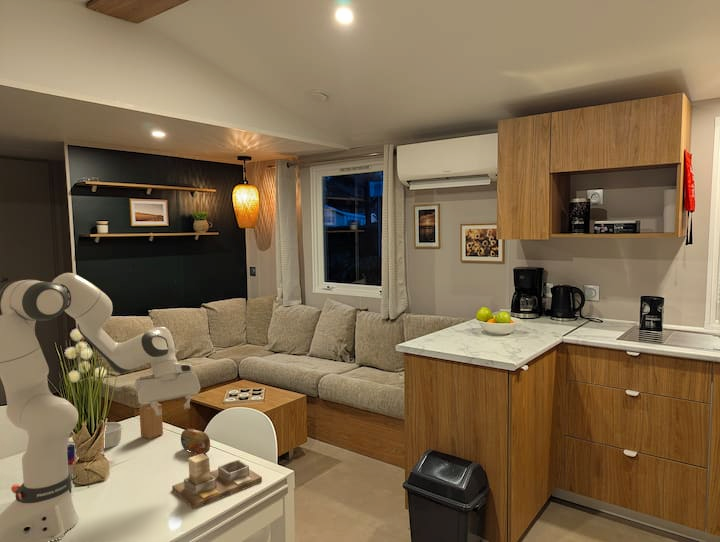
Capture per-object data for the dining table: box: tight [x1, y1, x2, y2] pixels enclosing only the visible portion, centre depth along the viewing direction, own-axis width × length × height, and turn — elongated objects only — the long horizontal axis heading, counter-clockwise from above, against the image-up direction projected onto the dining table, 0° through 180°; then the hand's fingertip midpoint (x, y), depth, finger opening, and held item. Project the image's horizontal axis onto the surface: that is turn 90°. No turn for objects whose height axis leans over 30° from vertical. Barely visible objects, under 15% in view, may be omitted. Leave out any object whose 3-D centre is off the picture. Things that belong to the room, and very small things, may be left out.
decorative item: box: [138, 402, 164, 440], centre depth 212 cm, size 7×7×20 cm
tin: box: [180, 428, 211, 455], centre depth 195 cm, size 15×3×8 cm, turn 55°
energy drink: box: [67, 440, 78, 481], centre depth 176 cm, size 5×5×12 cm
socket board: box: [171, 459, 263, 509], centre depth 168 cm, size 24×16×4 cm, turn 133°
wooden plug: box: [187, 453, 211, 486], centre depth 164 cm, size 5×5×10 cm
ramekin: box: [104, 421, 123, 450], centre depth 205 cm, size 13×13×7 cm
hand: (173, 411), depth 171 cm, fingers open, 8 cm apart
